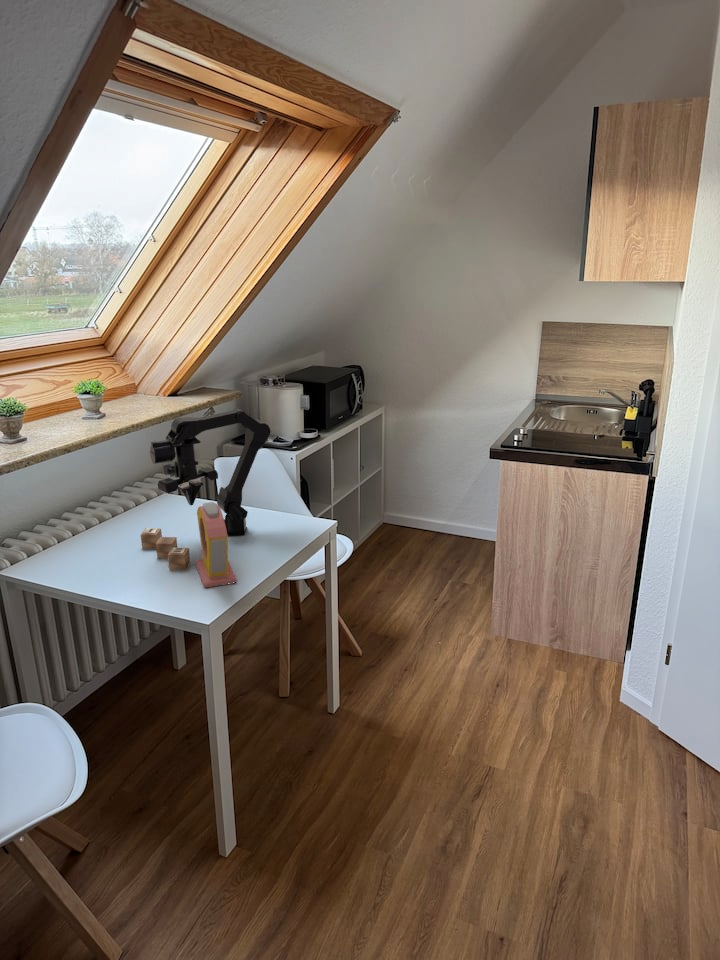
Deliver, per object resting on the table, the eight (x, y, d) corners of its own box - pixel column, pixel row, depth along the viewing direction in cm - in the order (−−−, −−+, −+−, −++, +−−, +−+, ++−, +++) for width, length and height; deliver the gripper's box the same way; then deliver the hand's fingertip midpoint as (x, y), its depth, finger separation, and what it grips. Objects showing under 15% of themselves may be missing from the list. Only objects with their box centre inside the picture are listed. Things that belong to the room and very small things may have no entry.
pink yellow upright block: (194, 561, 211) (188, 494, 204) (224, 556, 214) (219, 491, 208) (205, 593, 192) (199, 521, 185) (238, 587, 195) (233, 516, 188)
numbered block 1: (162, 542, 225) (160, 527, 223) (157, 549, 220) (156, 533, 219) (147, 542, 225) (145, 527, 223) (142, 548, 220) (140, 533, 219)
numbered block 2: (190, 562, 211) (188, 546, 209) (185, 570, 206) (184, 553, 204) (173, 562, 211) (172, 546, 209) (169, 569, 206) (167, 553, 204)
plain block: (177, 551, 218) (176, 537, 217) (173, 558, 214) (171, 543, 212) (162, 551, 218) (160, 537, 217) (157, 558, 214) (155, 543, 212)
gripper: (197, 447, 228) (202, 491, 233) (146, 460, 216) (152, 506, 221) (216, 453, 220) (221, 499, 225) (164, 467, 208) (170, 515, 213)
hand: (191, 504), depth 221 cm, fingers closed
